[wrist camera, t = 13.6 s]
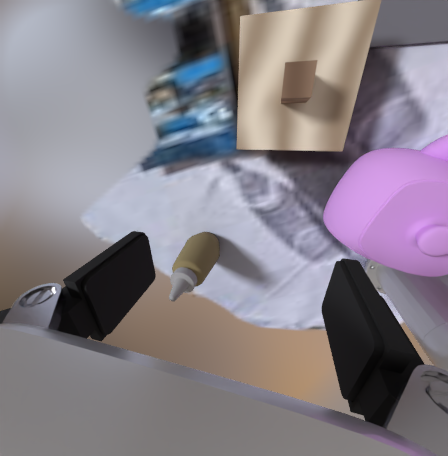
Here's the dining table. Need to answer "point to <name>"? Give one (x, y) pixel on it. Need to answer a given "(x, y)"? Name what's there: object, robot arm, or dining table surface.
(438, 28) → the mat
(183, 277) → the squeeze bottle
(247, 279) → the dining table surface
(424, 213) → the teapot
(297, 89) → the lid
